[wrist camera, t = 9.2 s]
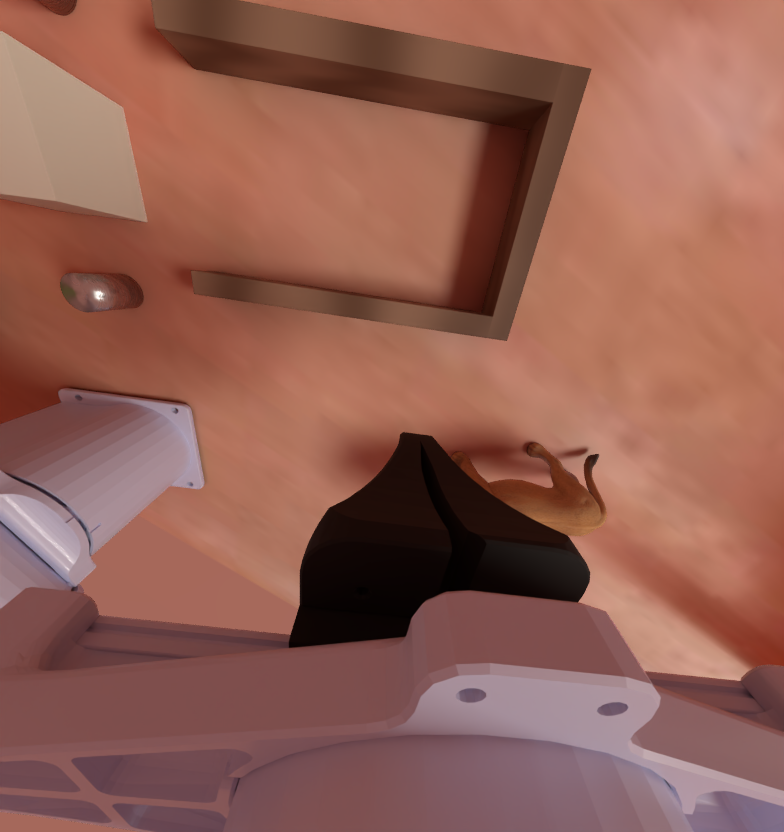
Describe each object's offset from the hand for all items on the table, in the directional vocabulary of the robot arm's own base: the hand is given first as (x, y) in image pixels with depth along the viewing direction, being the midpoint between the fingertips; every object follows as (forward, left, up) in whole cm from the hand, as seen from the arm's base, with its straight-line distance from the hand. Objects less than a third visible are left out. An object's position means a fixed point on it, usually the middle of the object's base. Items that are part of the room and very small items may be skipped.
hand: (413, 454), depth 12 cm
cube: (-19, +10, -10) cm, 24 cm away
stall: (-5, +10, -9) cm, 14 cm away
